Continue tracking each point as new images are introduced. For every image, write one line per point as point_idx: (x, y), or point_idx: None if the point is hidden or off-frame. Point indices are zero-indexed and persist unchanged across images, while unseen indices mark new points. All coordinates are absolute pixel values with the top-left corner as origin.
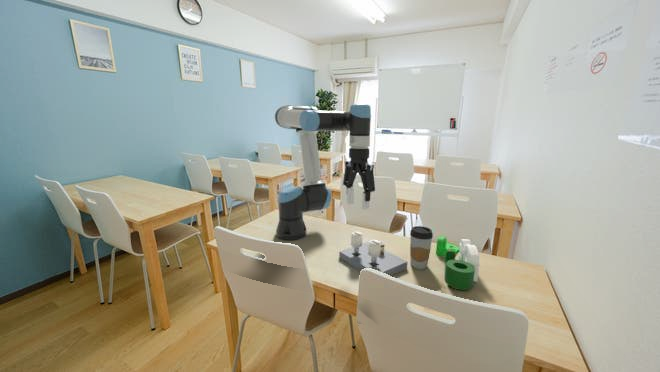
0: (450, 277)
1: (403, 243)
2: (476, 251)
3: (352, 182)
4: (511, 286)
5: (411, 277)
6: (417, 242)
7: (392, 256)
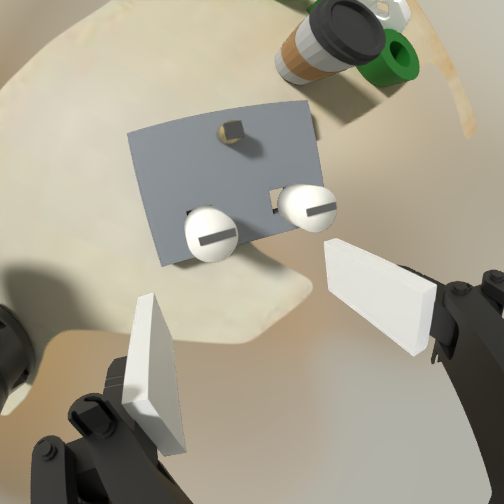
0: (390, 82)
1: (157, 13)
2: (407, 8)
3: (167, 485)
4: None
5: (332, 126)
6: (353, 66)
7: (264, 116)
